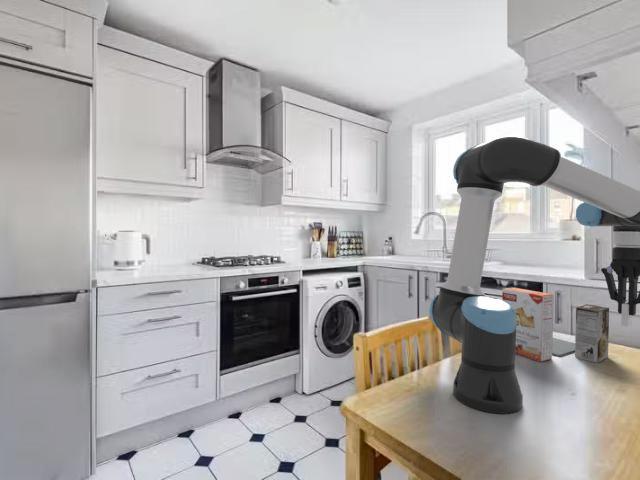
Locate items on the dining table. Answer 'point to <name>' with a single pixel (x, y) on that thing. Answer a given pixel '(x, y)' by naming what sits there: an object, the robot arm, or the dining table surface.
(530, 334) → the cracker box
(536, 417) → the dining table surface
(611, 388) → the dining table surface
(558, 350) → the mat
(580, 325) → the coffee box
